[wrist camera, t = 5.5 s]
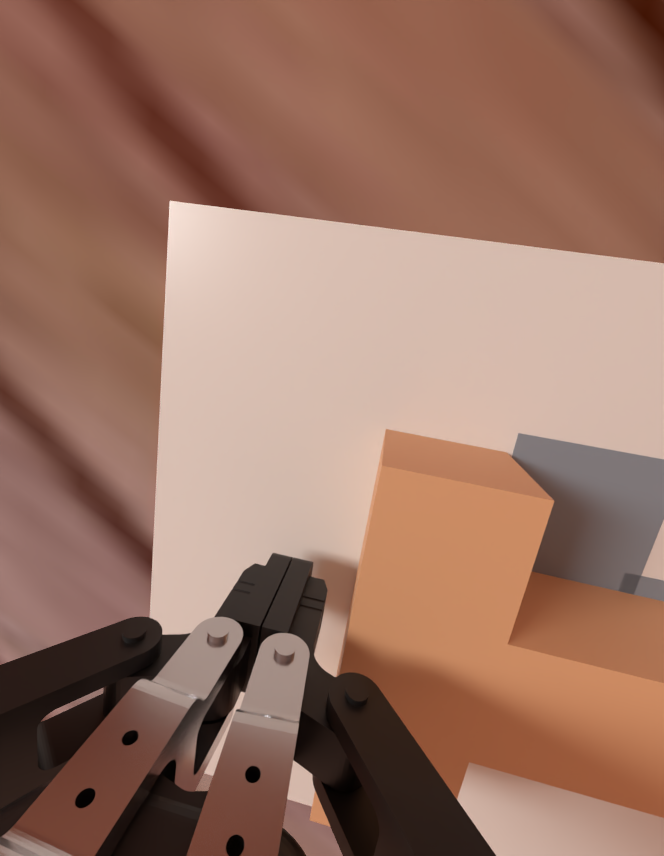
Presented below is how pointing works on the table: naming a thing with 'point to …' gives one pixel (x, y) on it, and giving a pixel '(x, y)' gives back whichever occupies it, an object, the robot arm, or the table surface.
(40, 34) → the table surface
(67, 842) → the robot arm
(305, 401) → the board
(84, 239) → the table surface
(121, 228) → the table surface
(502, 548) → the t block
